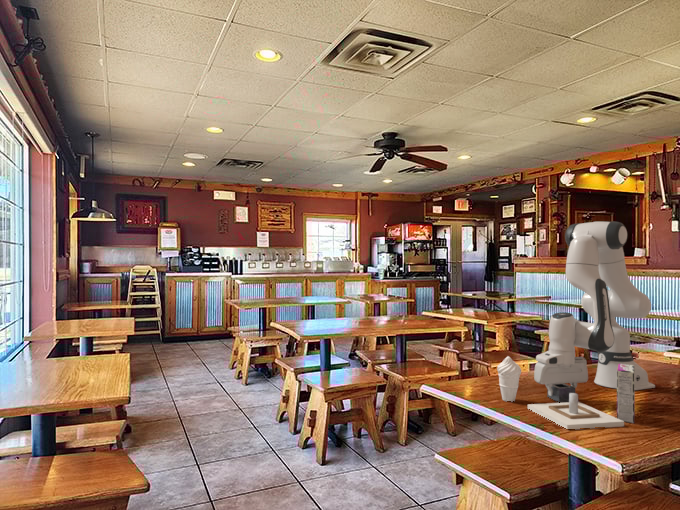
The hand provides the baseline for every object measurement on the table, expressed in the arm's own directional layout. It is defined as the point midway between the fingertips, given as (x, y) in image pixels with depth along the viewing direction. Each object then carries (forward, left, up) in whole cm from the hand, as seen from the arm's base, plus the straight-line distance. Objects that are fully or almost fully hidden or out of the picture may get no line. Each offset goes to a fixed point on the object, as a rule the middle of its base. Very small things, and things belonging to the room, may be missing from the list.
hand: (561, 395), depth 172 cm
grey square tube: (0, 0, -2) cm, 2 cm away
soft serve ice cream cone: (+20, -2, -2) cm, 20 cm away
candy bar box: (-8, +21, -2) cm, 23 cm away
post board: (+9, +18, -2) cm, 20 cm away
